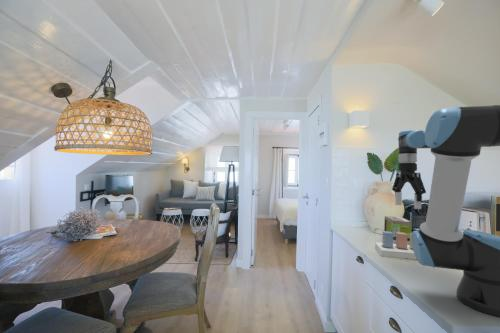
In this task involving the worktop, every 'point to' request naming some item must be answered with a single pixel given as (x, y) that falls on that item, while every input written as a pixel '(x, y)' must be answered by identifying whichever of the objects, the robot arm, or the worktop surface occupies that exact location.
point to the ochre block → (411, 241)
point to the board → (395, 251)
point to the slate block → (387, 239)
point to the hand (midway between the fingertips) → (407, 206)
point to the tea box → (397, 226)
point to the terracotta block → (401, 240)
